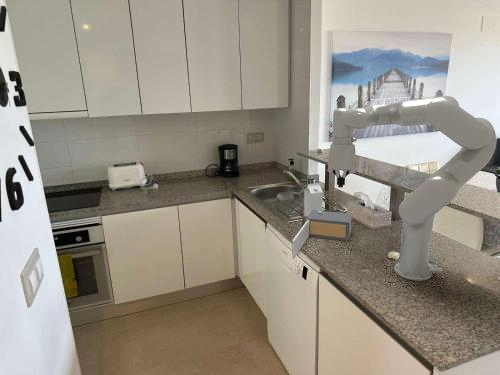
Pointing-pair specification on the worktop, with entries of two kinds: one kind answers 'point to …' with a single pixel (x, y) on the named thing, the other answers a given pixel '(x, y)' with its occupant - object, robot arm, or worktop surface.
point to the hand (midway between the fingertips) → (340, 186)
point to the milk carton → (313, 198)
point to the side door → (300, 238)
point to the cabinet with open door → (329, 225)
